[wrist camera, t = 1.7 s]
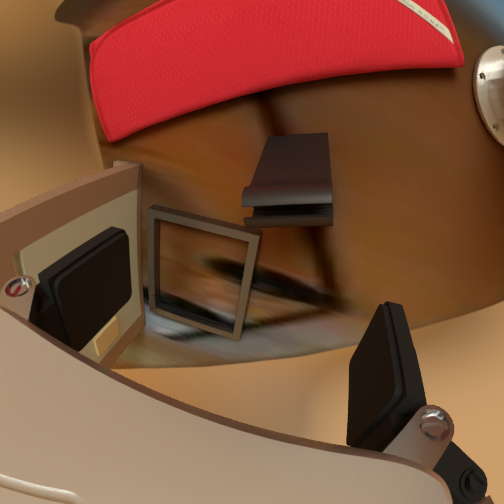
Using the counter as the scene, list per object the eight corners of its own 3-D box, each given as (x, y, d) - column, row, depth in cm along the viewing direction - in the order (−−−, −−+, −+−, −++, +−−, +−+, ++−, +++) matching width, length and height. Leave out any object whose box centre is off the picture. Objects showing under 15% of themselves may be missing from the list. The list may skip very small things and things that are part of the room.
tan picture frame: (145, 164, 33) (-23, 238, 13) (147, 325, 45) (65, 429, 25) (118, 160, 33) (-41, 225, 13) (126, 316, 46) (42, 411, 26)
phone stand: (269, 136, 28) (232, 146, 18) (327, 132, 27) (328, 139, 16) (278, 219, 32) (250, 272, 21) (333, 217, 30) (334, 272, 20)
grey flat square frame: (262, 231, 33) (259, 236, 32) (242, 334, 40) (239, 341, 39) (154, 204, 35) (147, 208, 34) (154, 304, 42) (149, 310, 41)
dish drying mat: (96, 42, 27) (78, 40, 24) (411, -43, 14) (418, -57, 11) (117, 142, 33) (98, 147, 30) (456, 73, 20) (470, 69, 17)
